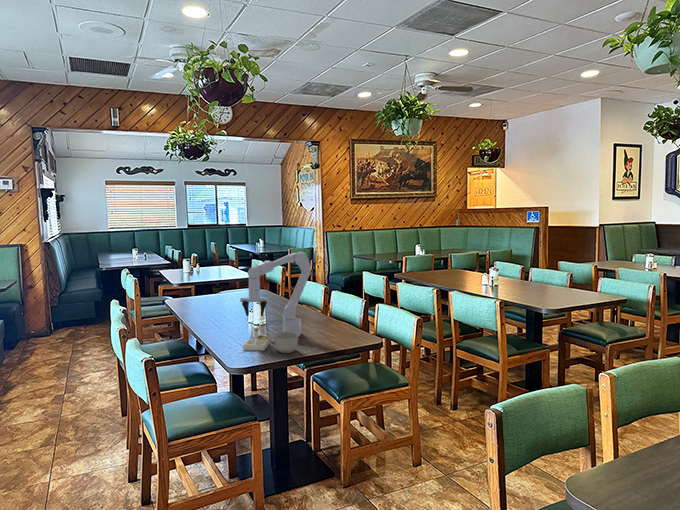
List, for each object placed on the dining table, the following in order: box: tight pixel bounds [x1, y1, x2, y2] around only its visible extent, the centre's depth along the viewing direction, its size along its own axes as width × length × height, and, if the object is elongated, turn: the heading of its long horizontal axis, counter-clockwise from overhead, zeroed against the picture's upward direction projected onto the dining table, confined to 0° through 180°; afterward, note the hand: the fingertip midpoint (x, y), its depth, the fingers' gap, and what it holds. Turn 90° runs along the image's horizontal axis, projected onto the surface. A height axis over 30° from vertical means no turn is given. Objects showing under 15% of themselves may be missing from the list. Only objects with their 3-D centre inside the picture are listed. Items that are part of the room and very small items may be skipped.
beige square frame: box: [252, 334, 269, 339], centre depth 229 cm, size 6×6×3 cm
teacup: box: [267, 331, 299, 354], centre depth 214 cm, size 14×11×8 cm
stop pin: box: [253, 326, 260, 345], centre depth 221 cm, size 2×2×9 cm
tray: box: [242, 338, 270, 351], centre depth 221 cm, size 10×10×2 cm
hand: (254, 315), depth 243 cm, fingers open, 7 cm apart
